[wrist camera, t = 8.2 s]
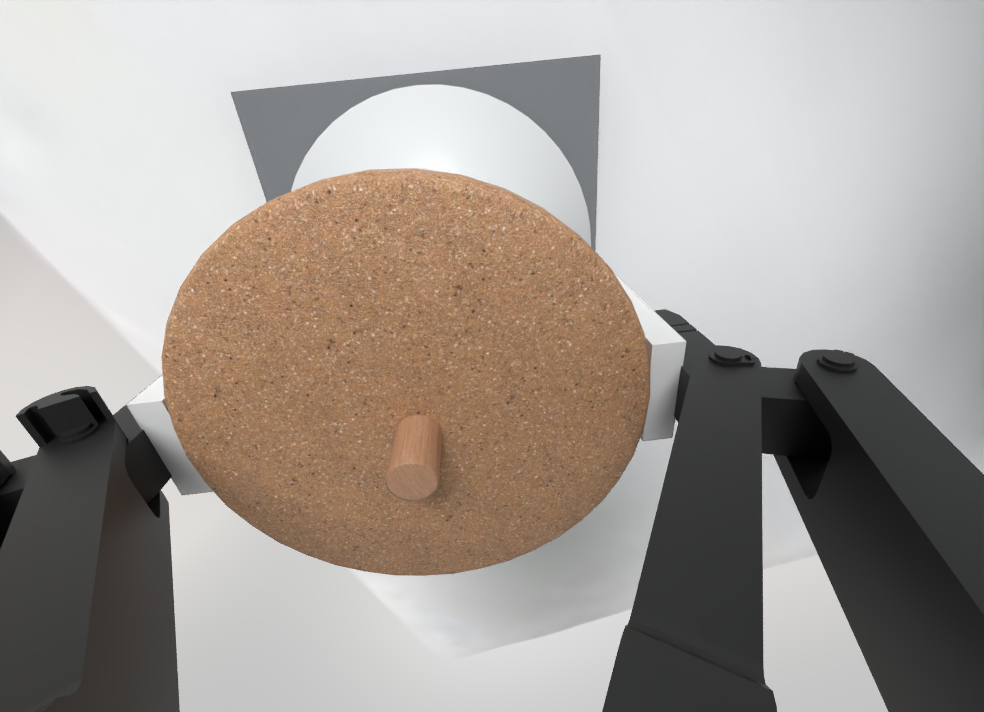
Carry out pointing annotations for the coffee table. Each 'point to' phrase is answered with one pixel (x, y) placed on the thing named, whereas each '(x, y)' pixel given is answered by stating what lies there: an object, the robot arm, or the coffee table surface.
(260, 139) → the scale
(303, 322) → the lidded jar
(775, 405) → the robot arm
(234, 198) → the coffee table surface
